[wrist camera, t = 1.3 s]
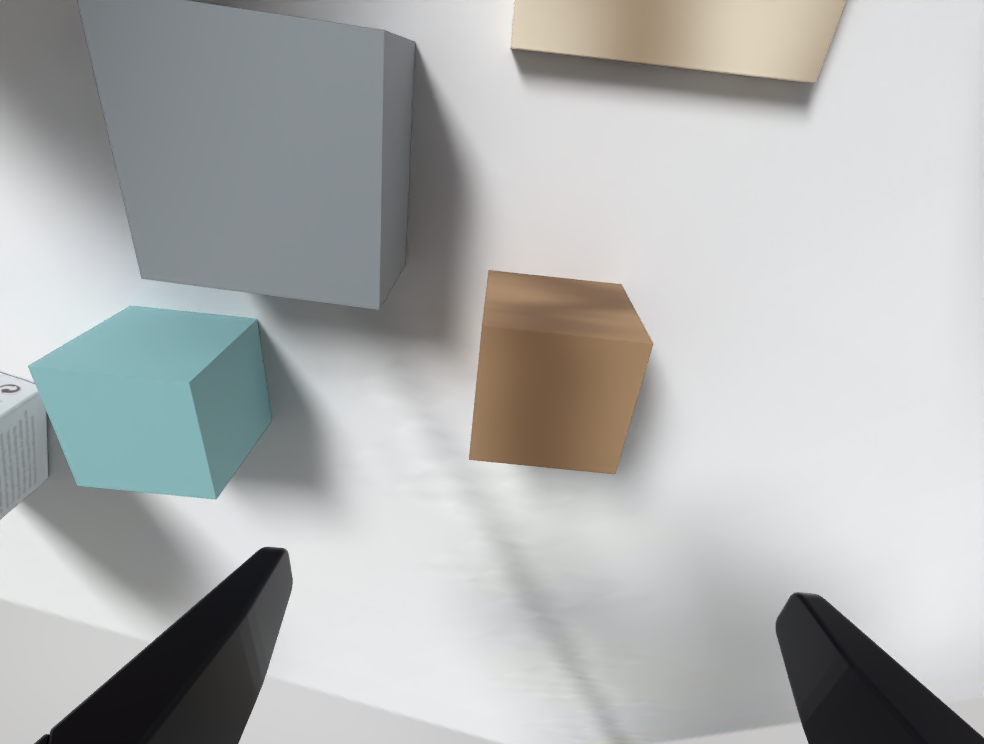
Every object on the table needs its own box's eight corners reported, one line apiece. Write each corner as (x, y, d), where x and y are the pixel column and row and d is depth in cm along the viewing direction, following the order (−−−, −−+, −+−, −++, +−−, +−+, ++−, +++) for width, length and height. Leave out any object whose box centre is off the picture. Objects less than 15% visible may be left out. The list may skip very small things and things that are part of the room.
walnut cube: (620, 283, 19) (653, 343, 15) (594, 395, 22) (615, 474, 17) (488, 269, 19) (481, 325, 15) (477, 383, 21) (468, 459, 17)
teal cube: (258, 318, 20) (188, 382, 16) (272, 419, 23) (216, 499, 18) (131, 304, 20) (28, 365, 16) (160, 408, 23) (77, 485, 18)
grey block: (416, 42, 15) (383, 29, 12) (406, 262, 19) (379, 309, 15) (185, 7, 15) (73, -17, 11) (218, 236, 19) (141, 278, 15)
